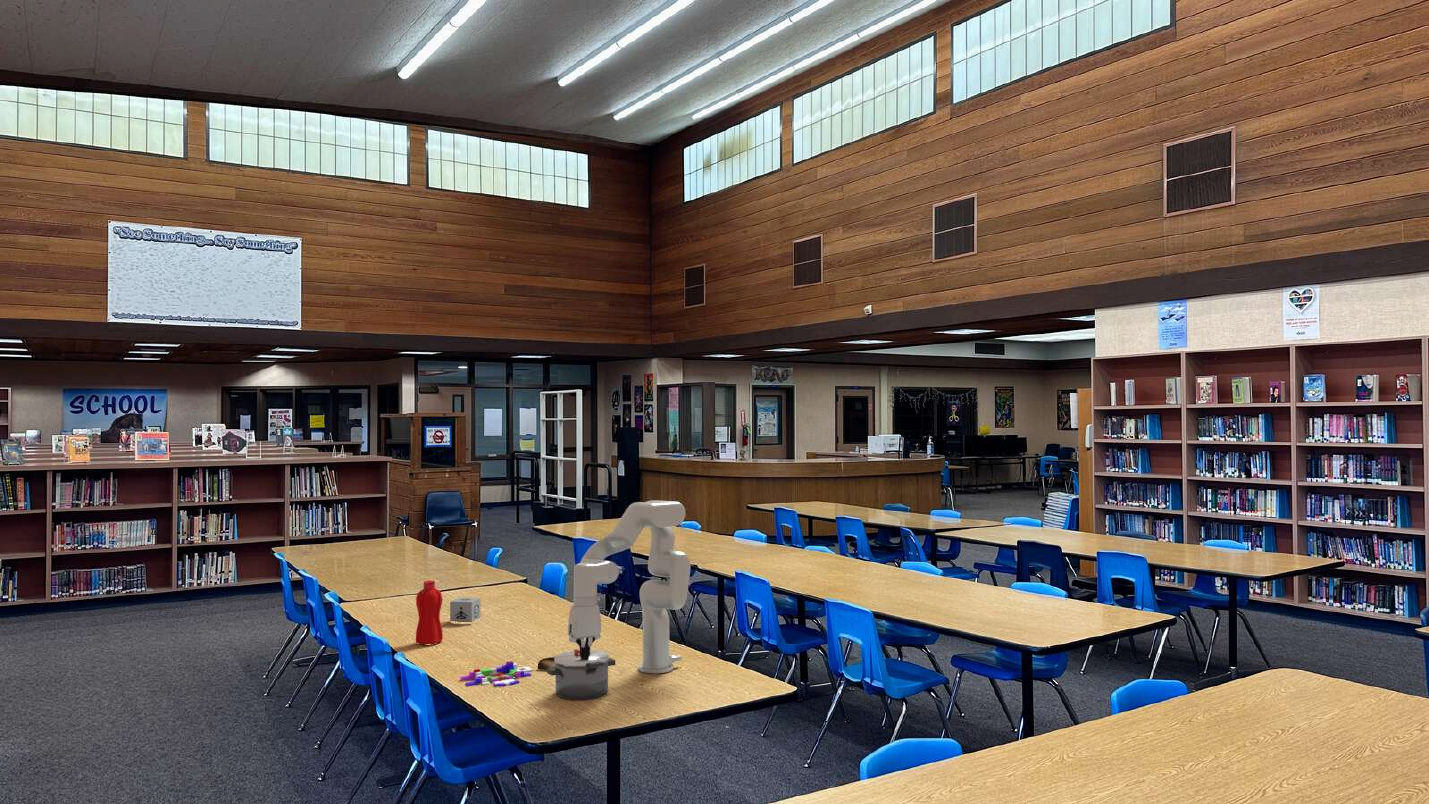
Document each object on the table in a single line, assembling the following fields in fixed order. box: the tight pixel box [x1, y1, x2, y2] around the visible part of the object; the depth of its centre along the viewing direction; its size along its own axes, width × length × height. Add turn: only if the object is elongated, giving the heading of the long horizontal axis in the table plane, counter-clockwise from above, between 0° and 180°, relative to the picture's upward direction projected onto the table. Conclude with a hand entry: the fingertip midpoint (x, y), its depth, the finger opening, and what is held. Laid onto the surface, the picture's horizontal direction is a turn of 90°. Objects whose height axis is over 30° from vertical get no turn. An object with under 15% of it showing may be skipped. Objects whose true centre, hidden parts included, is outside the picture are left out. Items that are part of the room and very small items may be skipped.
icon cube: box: [449, 596, 482, 622], centre depth 403 cm, size 10×10×10 cm
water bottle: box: [415, 580, 444, 645], centre depth 363 cm, size 9×11×25 cm
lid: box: [554, 648, 610, 668], centre depth 294 cm, size 18×20×3 cm
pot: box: [546, 657, 616, 702], centre depth 295 cm, size 23×18×10 cm
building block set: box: [460, 659, 534, 687], centre depth 312 cm, size 25×20×4 cm
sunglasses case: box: [537, 655, 556, 671], centre depth 328 cm, size 18×7×7 cm
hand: (584, 658), depth 292 cm, fingers closed
